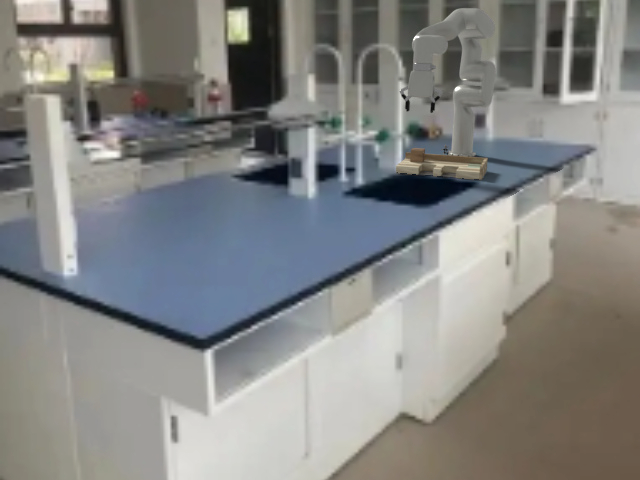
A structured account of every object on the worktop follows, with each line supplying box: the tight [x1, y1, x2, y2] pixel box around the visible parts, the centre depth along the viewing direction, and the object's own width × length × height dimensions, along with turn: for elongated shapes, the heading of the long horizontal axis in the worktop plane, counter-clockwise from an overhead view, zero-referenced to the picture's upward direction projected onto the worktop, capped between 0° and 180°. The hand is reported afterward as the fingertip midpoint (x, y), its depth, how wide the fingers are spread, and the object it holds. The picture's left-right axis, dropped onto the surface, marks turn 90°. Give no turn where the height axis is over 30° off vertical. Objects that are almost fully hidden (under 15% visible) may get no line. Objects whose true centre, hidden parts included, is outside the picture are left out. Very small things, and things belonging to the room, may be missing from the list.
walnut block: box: [410, 147, 426, 163], centre depth 291 cm, size 5×5×5 cm
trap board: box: [395, 151, 489, 181], centre depth 285 cm, size 18×34×6 cm, turn 71°
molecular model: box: [441, 144, 475, 157], centre depth 302 cm, size 6×15×8 cm, turn 77°
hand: (419, 111), depth 282 cm, fingers open, 9 cm apart
